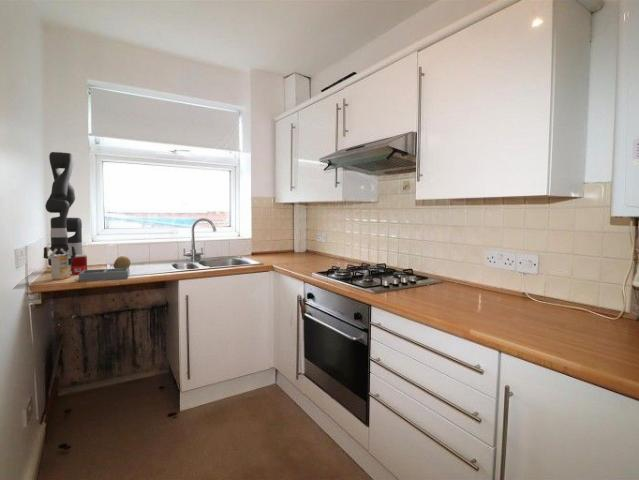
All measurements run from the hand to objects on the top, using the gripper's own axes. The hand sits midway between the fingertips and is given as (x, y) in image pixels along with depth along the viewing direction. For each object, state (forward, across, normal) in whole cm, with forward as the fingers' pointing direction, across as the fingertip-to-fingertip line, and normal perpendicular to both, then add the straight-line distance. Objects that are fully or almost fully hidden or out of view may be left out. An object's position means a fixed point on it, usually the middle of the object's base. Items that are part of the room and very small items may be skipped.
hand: (60, 265), depth 195 cm
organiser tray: (+7, -22, +6) cm, 24 cm away
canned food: (+7, -6, -15) cm, 18 cm away
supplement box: (+8, 0, 0) cm, 8 cm away
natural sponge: (+7, -29, -10) cm, 32 cm away
